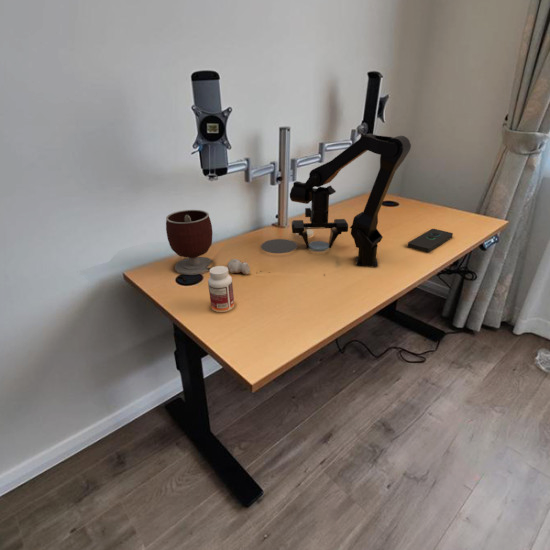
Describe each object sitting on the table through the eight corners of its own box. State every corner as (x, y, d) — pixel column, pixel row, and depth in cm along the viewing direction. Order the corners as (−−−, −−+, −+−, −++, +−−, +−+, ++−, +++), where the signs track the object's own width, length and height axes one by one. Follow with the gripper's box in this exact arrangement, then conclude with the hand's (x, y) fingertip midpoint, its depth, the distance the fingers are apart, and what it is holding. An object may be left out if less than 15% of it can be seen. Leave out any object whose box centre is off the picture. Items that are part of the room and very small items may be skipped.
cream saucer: (313, 241, 137) (313, 235, 136) (294, 240, 138) (294, 235, 137) (314, 234, 143) (314, 229, 142) (296, 233, 144) (296, 228, 143)
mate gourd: (173, 260, 125) (163, 202, 115) (214, 255, 127) (207, 198, 118) (172, 281, 111) (161, 217, 102) (218, 275, 114) (211, 212, 105)
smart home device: (454, 232, 136) (429, 248, 124) (453, 237, 137) (428, 253, 125) (432, 227, 141) (406, 242, 129) (431, 232, 142) (406, 246, 130)
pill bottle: (224, 298, 101) (220, 262, 96) (239, 306, 98) (236, 268, 92) (206, 307, 97) (201, 270, 92) (221, 315, 94) (217, 277, 88)
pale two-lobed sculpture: (226, 273, 117) (237, 264, 119) (242, 281, 112) (253, 271, 114) (221, 263, 114) (233, 254, 117) (237, 270, 109) (249, 260, 112)
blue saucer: (328, 255, 125) (328, 249, 124) (307, 254, 126) (307, 248, 125) (329, 247, 132) (329, 241, 130) (309, 246, 133) (309, 240, 132)
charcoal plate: (295, 257, 124) (295, 254, 124) (257, 255, 126) (257, 252, 126) (299, 242, 136) (299, 239, 135) (264, 241, 138) (264, 238, 137)
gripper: (343, 198, 129) (341, 239, 136) (290, 199, 129) (290, 241, 136) (350, 207, 119) (346, 252, 126) (292, 209, 119) (292, 253, 126)
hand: (318, 249), depth 129 cm, fingers closed on blue saucer, 7 cm apart
